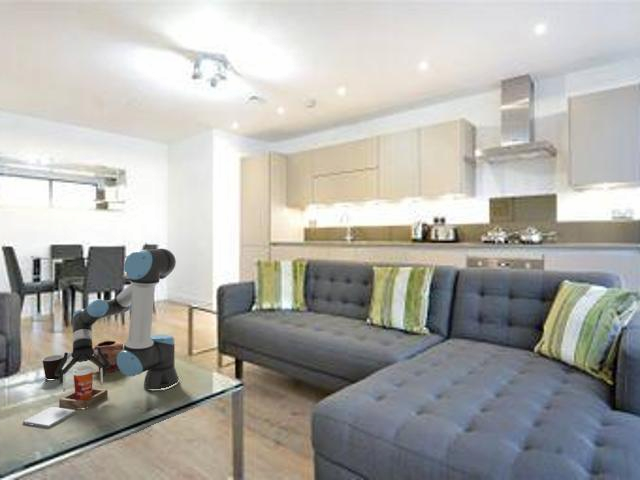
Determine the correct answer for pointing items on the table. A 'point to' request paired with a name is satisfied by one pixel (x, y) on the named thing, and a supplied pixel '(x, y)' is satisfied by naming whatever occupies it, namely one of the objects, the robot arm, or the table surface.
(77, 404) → the walnut collar
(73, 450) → the table surface
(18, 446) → the table surface
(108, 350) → the decorative planter
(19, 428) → the table surface
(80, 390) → the paper cup
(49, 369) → the coffee mug
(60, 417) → the slate pad
